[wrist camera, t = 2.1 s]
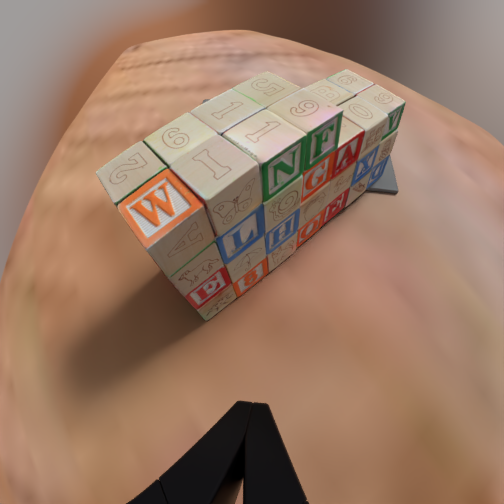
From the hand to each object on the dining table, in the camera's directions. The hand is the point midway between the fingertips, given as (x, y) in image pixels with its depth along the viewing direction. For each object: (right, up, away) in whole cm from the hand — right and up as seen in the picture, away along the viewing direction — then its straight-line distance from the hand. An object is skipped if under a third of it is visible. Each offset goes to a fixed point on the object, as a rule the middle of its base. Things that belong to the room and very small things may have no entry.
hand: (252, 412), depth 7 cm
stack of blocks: (+3, +7, +19) cm, 21 cm away
